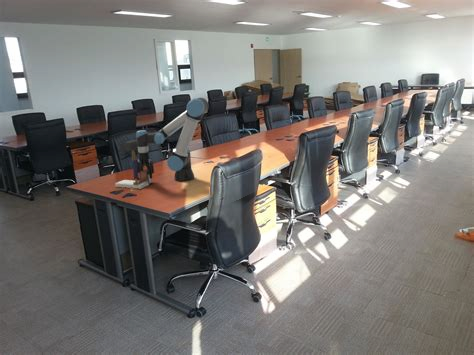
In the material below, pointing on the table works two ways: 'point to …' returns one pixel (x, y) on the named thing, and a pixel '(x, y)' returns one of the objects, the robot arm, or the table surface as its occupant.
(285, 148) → the table surface
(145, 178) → the block
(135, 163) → the rubber mallet
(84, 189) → the table surface
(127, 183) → the board
